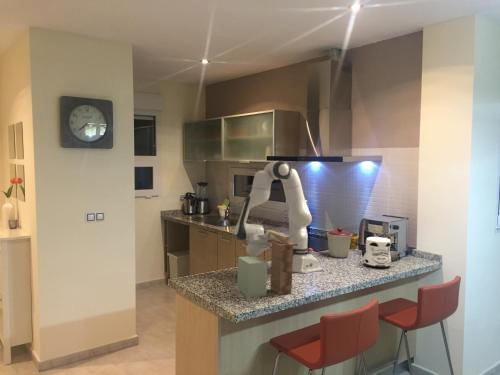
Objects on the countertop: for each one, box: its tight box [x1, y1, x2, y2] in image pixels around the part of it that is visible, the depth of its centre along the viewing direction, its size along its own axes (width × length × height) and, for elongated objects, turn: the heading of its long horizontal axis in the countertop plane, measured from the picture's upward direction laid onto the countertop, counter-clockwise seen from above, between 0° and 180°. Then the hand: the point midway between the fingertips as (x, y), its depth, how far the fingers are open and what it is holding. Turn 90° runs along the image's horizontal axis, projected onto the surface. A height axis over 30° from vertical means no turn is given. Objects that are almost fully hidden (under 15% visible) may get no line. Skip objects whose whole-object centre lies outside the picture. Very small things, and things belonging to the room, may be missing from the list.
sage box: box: [236, 255, 268, 298], centre depth 216 cm, size 10×14×17 cm
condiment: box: [349, 232, 359, 250], centre depth 331 cm, size 7×8×12 cm
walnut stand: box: [267, 240, 297, 296], centre depth 219 cm, size 10×14×26 cm
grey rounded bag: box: [390, 251, 402, 261], centre depth 301 cm, size 15×8×20 cm
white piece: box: [363, 236, 392, 269], centre depth 278 cm, size 17×17×18 cm
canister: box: [326, 226, 352, 259], centre depth 303 cm, size 18×18×21 cm
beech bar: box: [266, 229, 290, 244], centre depth 222 cm, size 3×20×4 cm, turn 25°
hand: (272, 233), depth 228 cm, fingers closed on beech bar, 3 cm apart
